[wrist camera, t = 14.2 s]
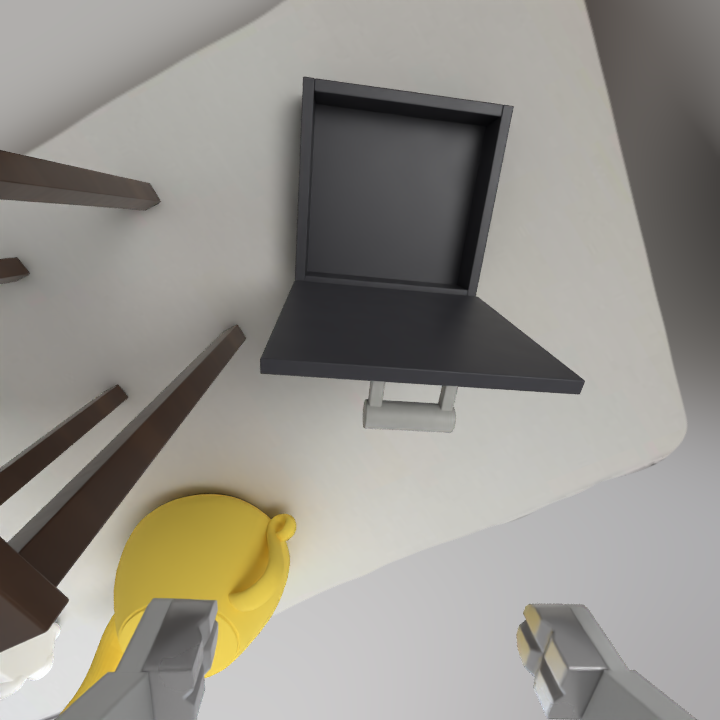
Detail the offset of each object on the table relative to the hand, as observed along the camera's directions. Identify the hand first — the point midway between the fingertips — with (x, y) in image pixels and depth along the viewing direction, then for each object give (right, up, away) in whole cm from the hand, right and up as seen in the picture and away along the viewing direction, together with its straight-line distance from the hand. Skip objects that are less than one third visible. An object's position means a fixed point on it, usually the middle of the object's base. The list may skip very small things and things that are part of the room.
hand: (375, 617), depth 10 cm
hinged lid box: (+2, +21, +23) cm, 31 cm away
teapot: (-18, -16, +35) cm, 43 cm away
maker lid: (+2, +9, +15) cm, 18 cm away
